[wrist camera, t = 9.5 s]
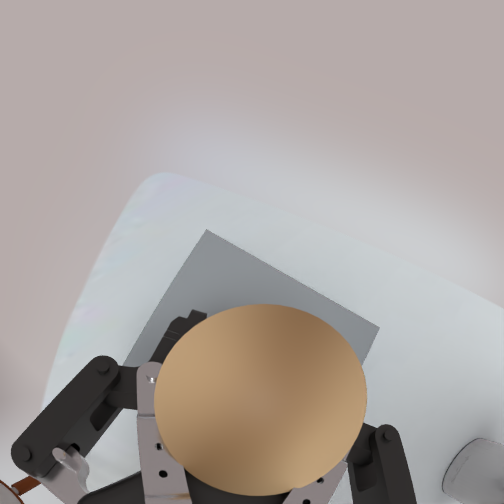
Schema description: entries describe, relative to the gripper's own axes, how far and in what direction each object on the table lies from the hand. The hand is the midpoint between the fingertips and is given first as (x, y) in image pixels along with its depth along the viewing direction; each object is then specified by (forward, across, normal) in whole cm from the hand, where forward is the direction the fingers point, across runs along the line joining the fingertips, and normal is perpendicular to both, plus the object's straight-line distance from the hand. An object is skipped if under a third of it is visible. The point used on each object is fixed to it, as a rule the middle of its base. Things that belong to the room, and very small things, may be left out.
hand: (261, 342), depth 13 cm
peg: (+3, 0, +6) cm, 7 cm away
